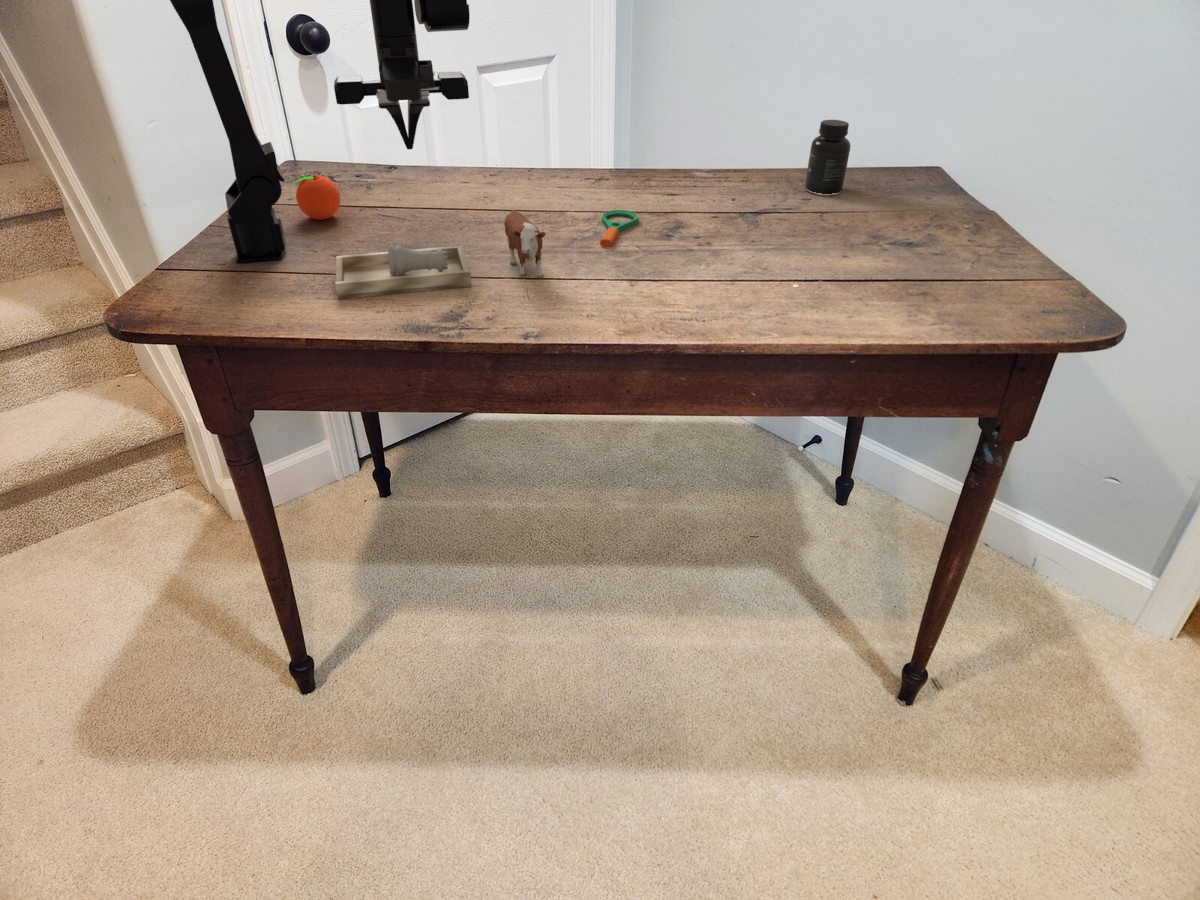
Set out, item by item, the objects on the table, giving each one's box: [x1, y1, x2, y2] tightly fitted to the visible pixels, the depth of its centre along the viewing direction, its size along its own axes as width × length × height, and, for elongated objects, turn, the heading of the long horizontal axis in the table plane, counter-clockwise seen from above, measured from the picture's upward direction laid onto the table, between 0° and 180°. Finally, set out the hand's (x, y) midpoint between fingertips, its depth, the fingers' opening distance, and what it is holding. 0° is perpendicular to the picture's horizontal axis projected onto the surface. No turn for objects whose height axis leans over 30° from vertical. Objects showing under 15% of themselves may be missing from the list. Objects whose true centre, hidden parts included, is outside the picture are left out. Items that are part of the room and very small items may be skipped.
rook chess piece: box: [387, 243, 448, 276], centre depth 112 cm, size 4×4×8 cm
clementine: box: [287, 175, 341, 221], centre depth 130 cm, size 8×7×7 cm
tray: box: [334, 245, 472, 300], centre depth 112 cm, size 18×10×2 cm, turn 104°
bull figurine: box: [503, 209, 547, 279], centre depth 113 cm, size 4×13×8 cm, turn 15°
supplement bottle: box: [804, 119, 852, 194], centre depth 143 cm, size 7×7×12 cm
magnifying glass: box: [599, 209, 639, 248], centre depth 129 cm, size 15×6×2 cm, turn 168°
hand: (409, 148), depth 120 cm, fingers closed
